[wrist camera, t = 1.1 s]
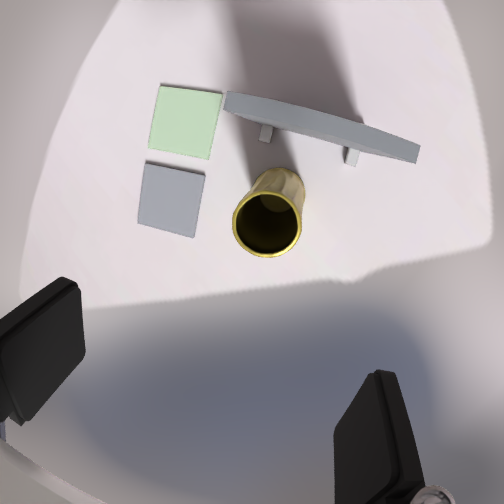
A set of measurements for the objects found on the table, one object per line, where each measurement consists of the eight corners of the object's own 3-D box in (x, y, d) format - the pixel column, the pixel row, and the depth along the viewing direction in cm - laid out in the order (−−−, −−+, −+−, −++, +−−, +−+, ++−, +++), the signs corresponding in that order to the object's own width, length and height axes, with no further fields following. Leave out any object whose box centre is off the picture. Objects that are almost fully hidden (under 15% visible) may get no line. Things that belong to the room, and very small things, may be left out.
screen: (266, 98, 33) (234, 62, 16) (368, 126, 32) (427, 117, 16) (256, 139, 35) (216, 139, 18) (357, 167, 34) (407, 192, 17)
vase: (243, 199, 38) (211, 233, 24) (272, 157, 35) (255, 167, 22) (285, 228, 38) (275, 278, 25) (315, 188, 36) (324, 216, 23)
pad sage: (161, 86, 34) (160, 86, 34) (223, 94, 34) (222, 94, 33) (149, 148, 37) (147, 148, 36) (208, 159, 36) (207, 159, 36)
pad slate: (146, 163, 38) (145, 163, 37) (205, 175, 37) (204, 176, 37) (139, 222, 41) (137, 223, 40) (194, 237, 40) (193, 238, 40)
